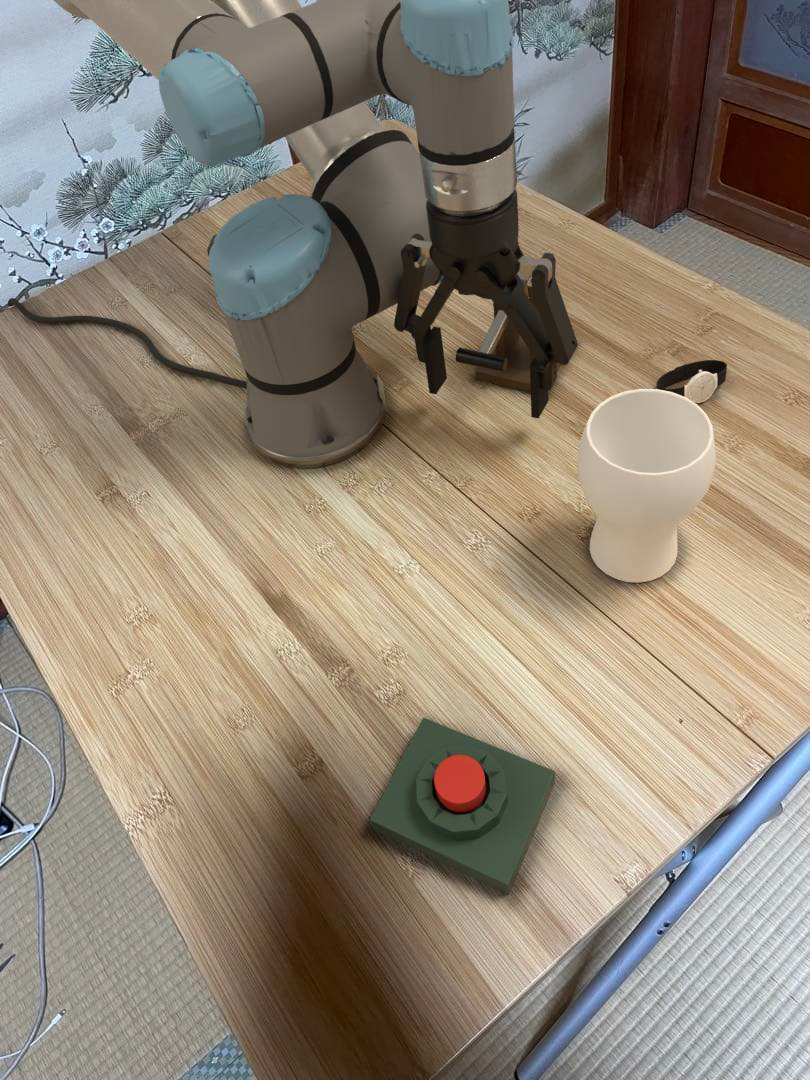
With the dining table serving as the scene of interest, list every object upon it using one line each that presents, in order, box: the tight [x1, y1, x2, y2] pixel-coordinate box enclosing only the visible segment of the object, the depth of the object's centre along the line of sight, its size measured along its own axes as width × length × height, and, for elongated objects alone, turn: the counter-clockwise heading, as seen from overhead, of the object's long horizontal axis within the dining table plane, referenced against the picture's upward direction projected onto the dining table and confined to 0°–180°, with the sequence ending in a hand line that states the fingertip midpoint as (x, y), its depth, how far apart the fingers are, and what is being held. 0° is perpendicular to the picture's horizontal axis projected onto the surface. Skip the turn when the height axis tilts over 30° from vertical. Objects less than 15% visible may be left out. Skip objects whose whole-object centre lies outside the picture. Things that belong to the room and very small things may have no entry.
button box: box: [369, 717, 556, 895], centre depth 62 cm, size 11×9×4 cm
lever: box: [454, 272, 529, 372], centre depth 83 cm, size 13×5×2 cm, turn 153°
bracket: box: [475, 252, 562, 393], centre depth 89 cm, size 9×8×13 cm
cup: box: [576, 388, 717, 584], centre depth 70 cm, size 11×11×15 cm
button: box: [434, 755, 486, 812], centre depth 60 cm, size 4×4×2 cm
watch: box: [656, 359, 728, 404], centre depth 86 cm, size 8×5×4 cm, turn 112°
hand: (487, 397), depth 85 cm, fingers open, 11 cm apart
